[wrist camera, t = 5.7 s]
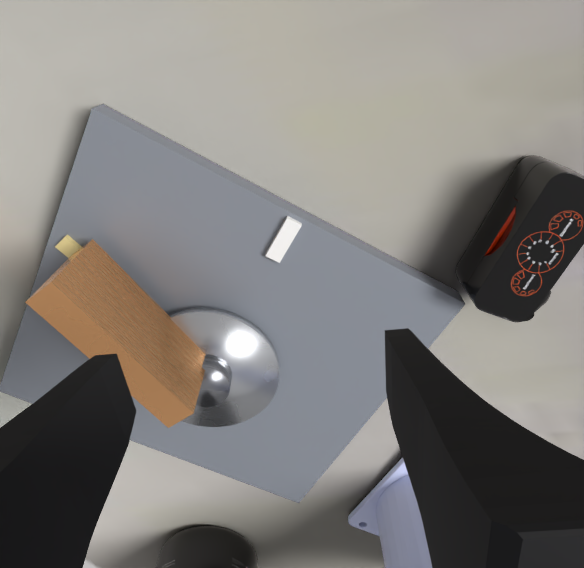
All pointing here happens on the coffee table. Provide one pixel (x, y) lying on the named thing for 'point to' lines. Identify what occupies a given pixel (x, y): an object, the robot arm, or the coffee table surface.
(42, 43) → the coffee table surface
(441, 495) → the robot arm
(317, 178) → the coffee table surface
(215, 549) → the supplement bottle
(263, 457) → the board
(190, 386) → the orange block with disc
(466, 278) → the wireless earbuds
